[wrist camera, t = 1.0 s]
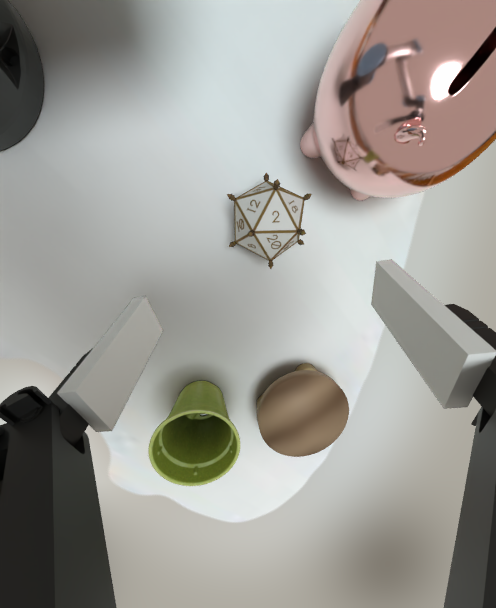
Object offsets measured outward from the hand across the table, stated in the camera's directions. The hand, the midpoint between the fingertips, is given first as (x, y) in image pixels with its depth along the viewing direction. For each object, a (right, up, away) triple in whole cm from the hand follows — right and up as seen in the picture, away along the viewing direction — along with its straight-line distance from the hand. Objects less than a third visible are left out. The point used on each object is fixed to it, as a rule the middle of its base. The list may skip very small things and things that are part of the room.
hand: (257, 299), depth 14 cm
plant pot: (-7, -13, +19) cm, 25 cm away
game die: (+1, +9, +15) cm, 18 cm away
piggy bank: (+13, +20, +14) cm, 28 cm away
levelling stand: (+6, -14, +21) cm, 26 cm away
